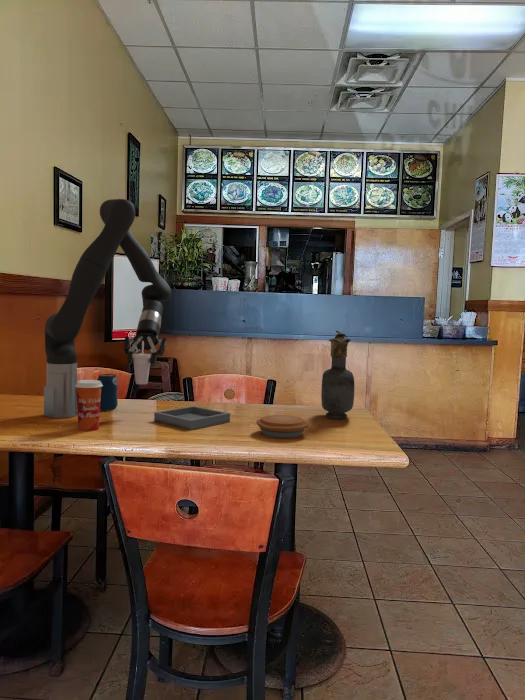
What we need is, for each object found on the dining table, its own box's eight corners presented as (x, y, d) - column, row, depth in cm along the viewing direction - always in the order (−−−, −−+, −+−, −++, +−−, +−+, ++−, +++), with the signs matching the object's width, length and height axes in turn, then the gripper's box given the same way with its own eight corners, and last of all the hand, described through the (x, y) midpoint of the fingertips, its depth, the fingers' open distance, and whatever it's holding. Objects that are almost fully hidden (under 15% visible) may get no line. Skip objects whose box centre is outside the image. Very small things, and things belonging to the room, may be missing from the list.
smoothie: (154, 382, 175) (154, 340, 174) (148, 385, 168) (148, 342, 167) (135, 381, 175) (136, 340, 174) (128, 384, 169) (129, 341, 168)
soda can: (121, 408, 184) (121, 374, 183) (106, 411, 178) (106, 376, 178) (107, 406, 188) (107, 373, 187) (92, 409, 182) (92, 374, 181)
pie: (272, 426, 165) (272, 410, 165) (316, 433, 157) (317, 416, 157) (245, 435, 152) (246, 418, 151) (293, 443, 144) (293, 425, 143)
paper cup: (76, 432, 148) (76, 383, 147) (72, 426, 155) (73, 380, 154) (105, 430, 152) (105, 382, 150) (100, 425, 158) (100, 379, 157)
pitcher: (321, 420, 174) (325, 331, 172) (319, 410, 193) (322, 329, 191) (354, 422, 174) (358, 332, 171) (348, 411, 193) (352, 330, 190)
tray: (190, 430, 155) (191, 420, 155) (154, 421, 166) (154, 412, 166) (229, 421, 168) (230, 413, 168) (193, 413, 179) (193, 405, 179)
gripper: (126, 317, 178) (116, 355, 167) (168, 319, 178) (161, 356, 167) (130, 332, 183) (120, 369, 172) (171, 334, 183) (164, 371, 173)
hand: (140, 363), depth 170 cm, fingers closed on smoothie, 6 cm apart
